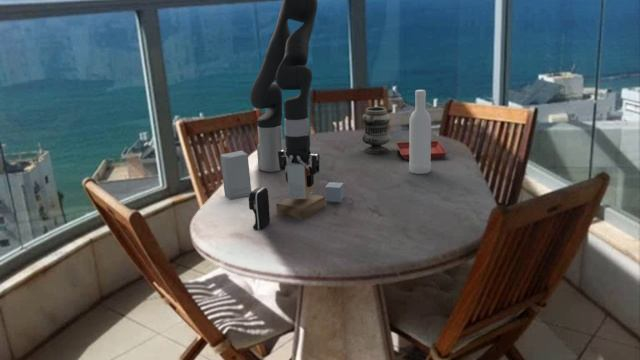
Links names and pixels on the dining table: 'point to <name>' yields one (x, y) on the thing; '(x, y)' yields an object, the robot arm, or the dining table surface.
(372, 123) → the apothecary jar
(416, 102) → the bottle
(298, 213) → the walnut slab
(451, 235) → the dining table surface
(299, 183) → the small box
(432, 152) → the plant saucer
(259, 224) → the battery charger
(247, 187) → the skincare box
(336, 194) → the blue-grey cube
